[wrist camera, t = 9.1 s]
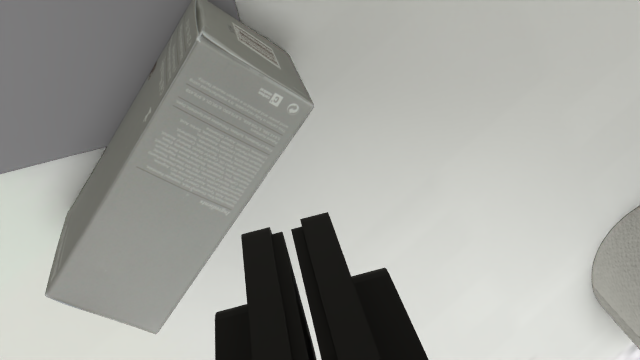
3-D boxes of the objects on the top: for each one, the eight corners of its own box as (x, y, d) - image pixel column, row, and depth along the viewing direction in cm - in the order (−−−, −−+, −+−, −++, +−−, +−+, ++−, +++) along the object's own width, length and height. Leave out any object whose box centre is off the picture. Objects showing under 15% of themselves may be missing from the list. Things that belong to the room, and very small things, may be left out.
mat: (198, -136, 30) (198, -136, 30) (262, 103, 36) (262, 106, 36) (-167, -52, 29) (-172, -51, 29) (-39, 181, 35) (-41, 184, 35)
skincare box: (202, 26, 25) (24, 298, 29) (334, 112, 28) (156, 347, 32) (194, -13, 32) (52, 209, 36) (299, 59, 35) (158, 256, 40)
